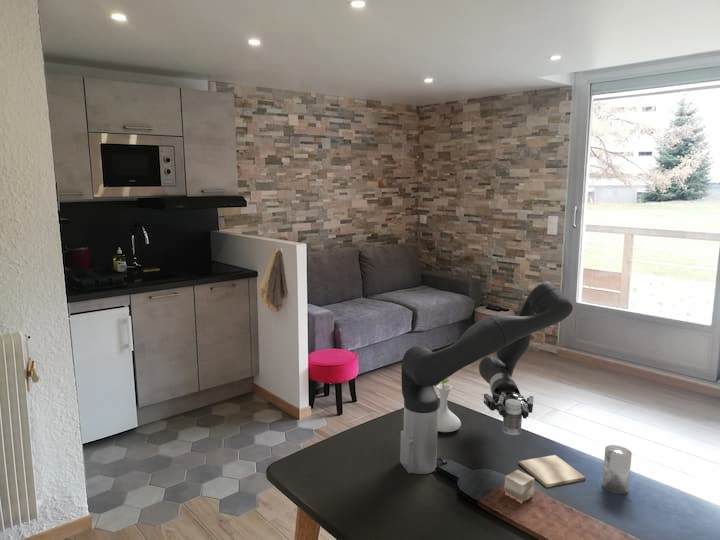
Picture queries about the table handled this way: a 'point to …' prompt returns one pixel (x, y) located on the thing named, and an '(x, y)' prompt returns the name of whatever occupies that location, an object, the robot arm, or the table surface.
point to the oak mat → (551, 470)
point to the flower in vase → (446, 410)
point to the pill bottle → (512, 417)
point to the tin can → (616, 469)
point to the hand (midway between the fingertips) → (514, 414)
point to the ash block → (519, 484)
